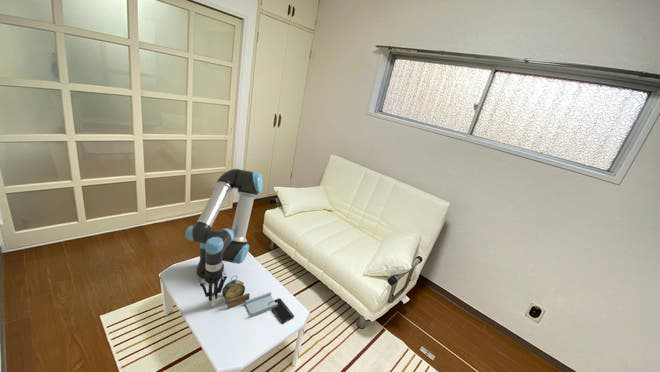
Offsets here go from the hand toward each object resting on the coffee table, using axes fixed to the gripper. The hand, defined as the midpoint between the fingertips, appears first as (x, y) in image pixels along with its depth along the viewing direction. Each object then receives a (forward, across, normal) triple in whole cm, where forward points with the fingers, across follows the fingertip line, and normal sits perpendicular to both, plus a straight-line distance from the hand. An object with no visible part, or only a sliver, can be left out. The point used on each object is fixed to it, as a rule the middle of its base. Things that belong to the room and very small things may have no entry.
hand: (212, 304), depth 137 cm
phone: (+2, +30, -18) cm, 35 cm away
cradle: (+1, +22, -11) cm, 25 cm away
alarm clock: (+2, +10, 0) cm, 11 cm away
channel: (+1, +12, 0) cm, 12 cm away
